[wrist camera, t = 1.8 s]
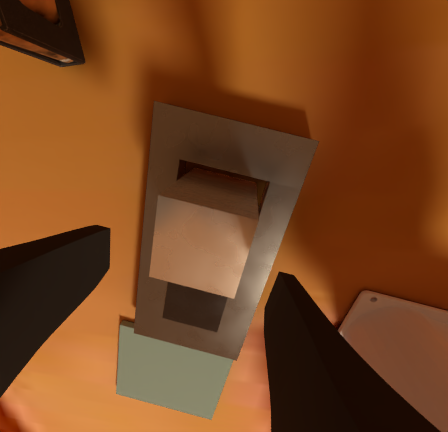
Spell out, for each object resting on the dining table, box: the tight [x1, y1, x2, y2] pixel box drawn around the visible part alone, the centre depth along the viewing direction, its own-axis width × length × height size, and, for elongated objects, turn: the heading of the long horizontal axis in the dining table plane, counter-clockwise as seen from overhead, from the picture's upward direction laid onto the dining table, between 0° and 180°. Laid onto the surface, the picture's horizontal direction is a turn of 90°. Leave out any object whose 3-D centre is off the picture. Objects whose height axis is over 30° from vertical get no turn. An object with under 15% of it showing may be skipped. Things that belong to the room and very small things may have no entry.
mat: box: [116, 320, 233, 420], centre depth 25 cm, size 12×12×1 cm
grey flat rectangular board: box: [134, 101, 319, 361], centre depth 18 cm, size 10×20×2 cm, turn 167°
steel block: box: [149, 168, 259, 299], centre depth 14 cm, size 5×5×7 cm
